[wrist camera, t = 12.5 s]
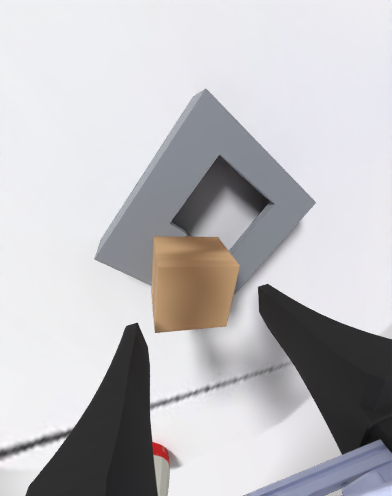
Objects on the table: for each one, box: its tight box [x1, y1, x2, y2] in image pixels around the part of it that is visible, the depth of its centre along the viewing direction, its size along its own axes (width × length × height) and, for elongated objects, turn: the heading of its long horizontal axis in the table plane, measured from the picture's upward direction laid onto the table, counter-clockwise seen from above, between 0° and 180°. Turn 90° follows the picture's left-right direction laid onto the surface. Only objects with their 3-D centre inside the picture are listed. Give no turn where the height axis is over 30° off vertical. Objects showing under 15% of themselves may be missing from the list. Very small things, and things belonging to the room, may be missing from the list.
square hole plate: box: [94, 89, 316, 295], centre depth 19 cm, size 12×13×3 cm
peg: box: [151, 232, 240, 333], centre depth 18 cm, size 5×5×8 cm
